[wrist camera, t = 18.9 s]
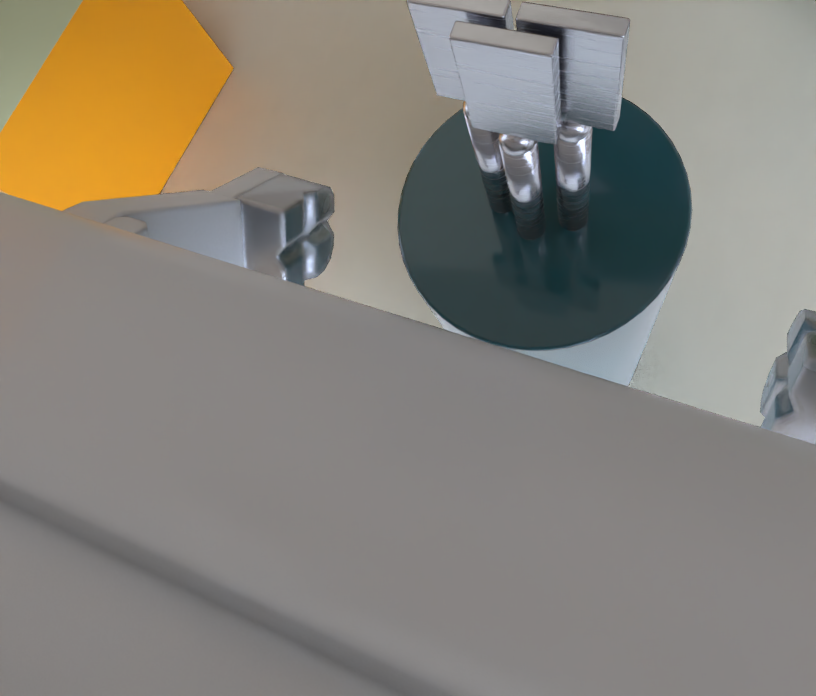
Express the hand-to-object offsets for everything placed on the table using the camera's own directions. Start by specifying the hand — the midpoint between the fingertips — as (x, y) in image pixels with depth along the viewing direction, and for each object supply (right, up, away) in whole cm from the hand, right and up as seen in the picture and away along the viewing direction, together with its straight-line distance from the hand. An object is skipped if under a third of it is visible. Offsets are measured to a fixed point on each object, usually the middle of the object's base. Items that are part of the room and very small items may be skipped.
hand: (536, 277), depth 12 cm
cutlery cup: (+2, -1, +7) cm, 7 cm away
